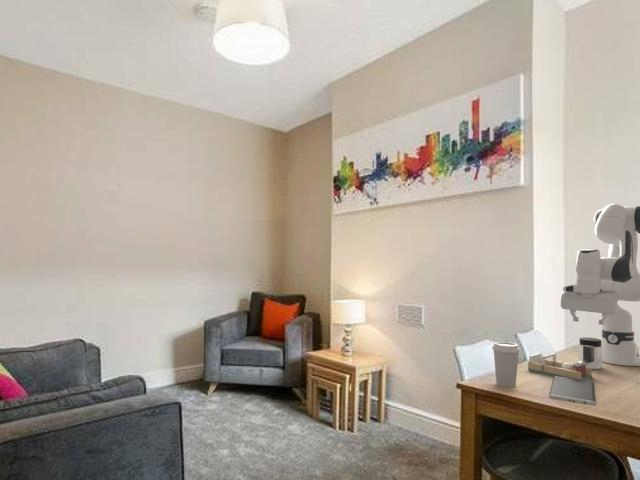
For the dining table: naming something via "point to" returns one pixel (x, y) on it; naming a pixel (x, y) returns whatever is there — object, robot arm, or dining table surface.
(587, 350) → the kicker rod
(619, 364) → the robot arm
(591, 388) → the smartphone
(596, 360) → the jar
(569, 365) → the ball
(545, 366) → the pitch
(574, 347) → the dining table surface
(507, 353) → the coffee cup
